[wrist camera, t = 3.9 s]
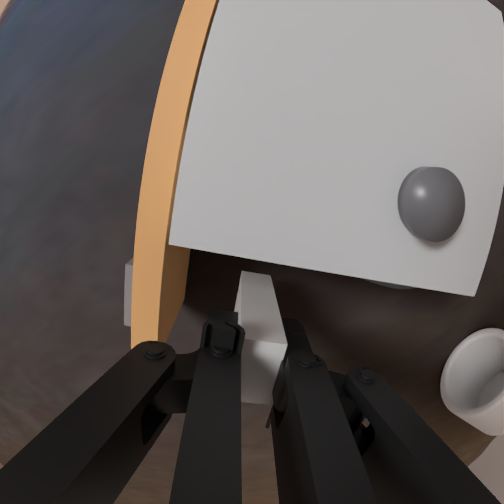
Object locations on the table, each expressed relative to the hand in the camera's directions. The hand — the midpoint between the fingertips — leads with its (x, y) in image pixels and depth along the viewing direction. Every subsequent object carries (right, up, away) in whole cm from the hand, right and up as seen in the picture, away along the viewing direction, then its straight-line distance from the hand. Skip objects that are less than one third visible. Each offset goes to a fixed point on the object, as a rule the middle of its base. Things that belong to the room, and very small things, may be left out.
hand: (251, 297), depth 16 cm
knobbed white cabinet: (+5, +11, +1) cm, 11 cm away
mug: (+23, -7, +6) cm, 25 cm away
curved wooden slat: (-3, +10, +1) cm, 10 cm away
